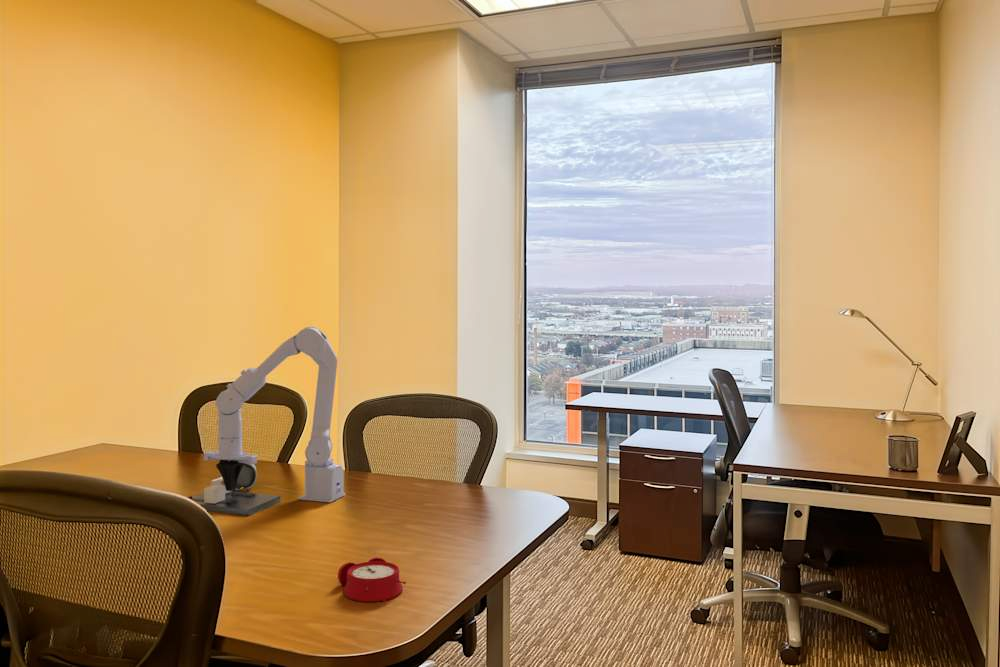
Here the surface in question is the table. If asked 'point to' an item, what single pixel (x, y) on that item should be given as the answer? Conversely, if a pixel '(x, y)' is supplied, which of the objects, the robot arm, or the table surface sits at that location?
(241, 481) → the ceramic mug
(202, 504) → the console
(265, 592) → the table surface
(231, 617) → the table surface
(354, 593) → the alarm clock
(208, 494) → the block
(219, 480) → the fader
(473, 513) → the table surface
